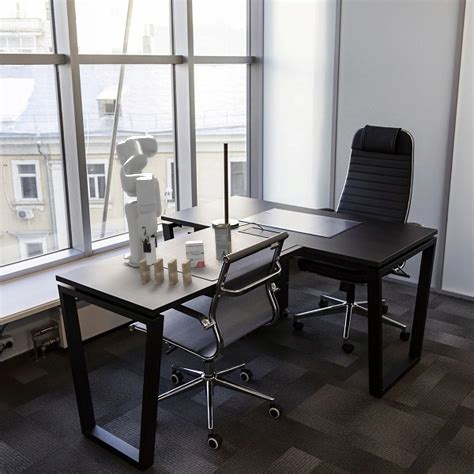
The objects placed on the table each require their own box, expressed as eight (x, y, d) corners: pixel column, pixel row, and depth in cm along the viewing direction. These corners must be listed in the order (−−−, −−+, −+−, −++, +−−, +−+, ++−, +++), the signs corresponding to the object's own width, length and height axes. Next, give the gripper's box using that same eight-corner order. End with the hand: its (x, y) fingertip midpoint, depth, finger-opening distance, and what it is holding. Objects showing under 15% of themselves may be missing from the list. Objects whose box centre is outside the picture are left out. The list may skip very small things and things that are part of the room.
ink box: (204, 263, 287) (203, 239, 284) (204, 266, 282) (203, 242, 279) (186, 264, 286) (185, 241, 283) (186, 267, 281) (185, 244, 278)
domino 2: (155, 284, 261) (153, 262, 259) (160, 279, 267) (158, 258, 264) (159, 284, 261) (157, 262, 258) (164, 279, 266) (162, 258, 264)
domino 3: (169, 284, 260) (167, 263, 257) (173, 280, 265) (172, 258, 263) (173, 284, 259) (171, 263, 257) (178, 280, 265) (176, 258, 262)
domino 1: (141, 283, 263) (139, 261, 260) (146, 278, 269) (144, 257, 266) (145, 283, 262) (143, 262, 260) (150, 279, 268) (149, 257, 265)
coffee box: (219, 253, 301) (218, 223, 296) (232, 254, 299) (230, 223, 295) (216, 259, 292) (214, 227, 288) (228, 259, 291) (227, 228, 286)
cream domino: (146, 264, 244) (144, 241, 242) (152, 260, 250) (150, 237, 247) (151, 265, 244) (149, 241, 241) (156, 260, 250) (154, 237, 247)
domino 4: (183, 285, 258) (181, 263, 256) (187, 280, 264) (186, 259, 261) (187, 285, 258) (186, 263, 255) (191, 280, 263) (190, 259, 261)
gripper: (146, 202, 249) (150, 243, 254) (129, 212, 233) (133, 256, 238) (163, 202, 247) (166, 244, 253) (147, 213, 231) (151, 257, 237)
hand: (150, 249), depth 245 cm, fingers closed on cream domino, 5 cm apart
